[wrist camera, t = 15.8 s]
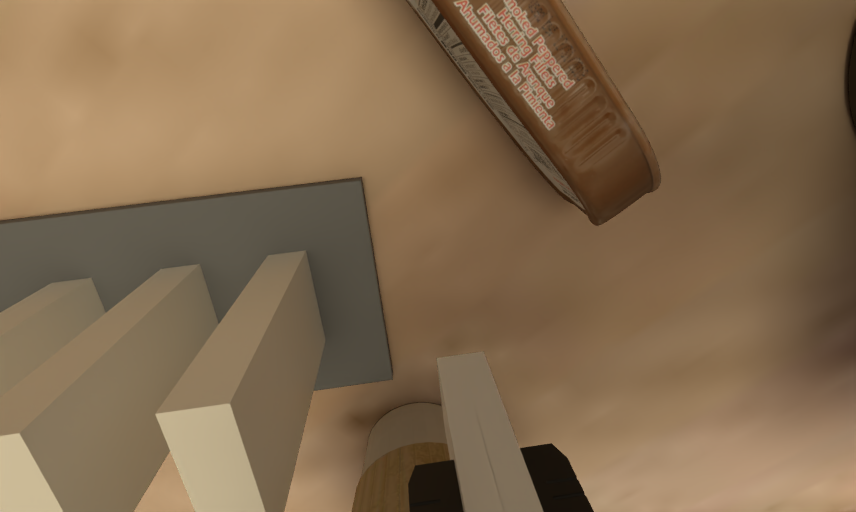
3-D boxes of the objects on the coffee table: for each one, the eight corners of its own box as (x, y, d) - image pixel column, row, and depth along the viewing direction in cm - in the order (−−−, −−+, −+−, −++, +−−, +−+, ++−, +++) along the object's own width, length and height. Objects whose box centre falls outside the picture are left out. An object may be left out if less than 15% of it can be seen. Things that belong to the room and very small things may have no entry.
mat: (361, 177, 21) (360, 180, 20) (392, 370, 25) (392, 379, 24) (-219, 247, 20) (-243, 253, 19) (-90, 438, 24) (-105, 450, 23)
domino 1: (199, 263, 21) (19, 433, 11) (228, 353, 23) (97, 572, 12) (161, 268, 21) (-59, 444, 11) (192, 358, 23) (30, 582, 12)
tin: (598, 164, 22) (717, 206, 14) (547, 205, 22) (634, 269, 14) (392, -133, 17) (396, -324, 9) (332, -70, 17) (289, -200, 10)
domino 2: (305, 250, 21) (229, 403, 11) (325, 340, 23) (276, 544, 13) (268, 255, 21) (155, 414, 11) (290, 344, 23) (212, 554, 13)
